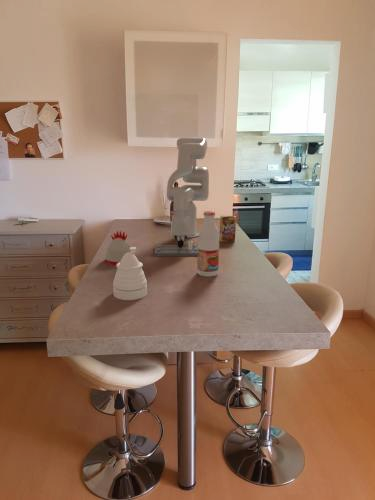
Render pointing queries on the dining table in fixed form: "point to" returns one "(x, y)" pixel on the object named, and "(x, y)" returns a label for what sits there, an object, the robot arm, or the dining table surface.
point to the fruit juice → (208, 246)
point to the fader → (190, 245)
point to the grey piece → (117, 248)
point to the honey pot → (129, 278)
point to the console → (175, 250)
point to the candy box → (227, 228)
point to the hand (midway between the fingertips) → (180, 247)
